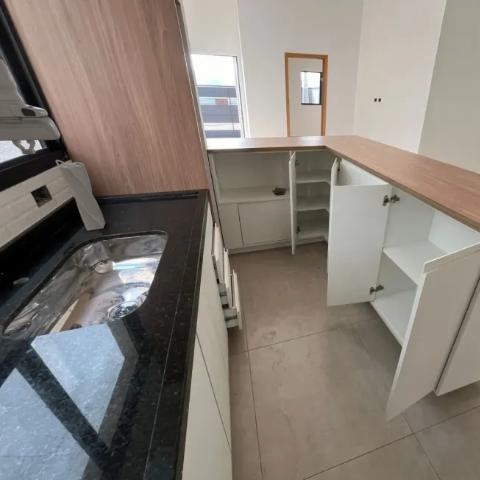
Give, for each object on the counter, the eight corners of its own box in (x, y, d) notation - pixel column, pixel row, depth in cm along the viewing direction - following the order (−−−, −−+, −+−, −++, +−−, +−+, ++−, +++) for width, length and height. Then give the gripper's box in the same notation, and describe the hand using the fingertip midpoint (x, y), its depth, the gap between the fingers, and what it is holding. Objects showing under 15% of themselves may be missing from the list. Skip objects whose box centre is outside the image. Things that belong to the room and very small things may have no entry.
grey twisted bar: (81, 232, 107) (51, 162, 93) (86, 225, 112) (57, 158, 99) (106, 229, 110) (79, 160, 97) (108, 222, 116) (84, 156, 103)
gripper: (-43, 110, 80) (-17, 157, 87) (44, 111, 88) (62, 154, 94) (-30, 109, 85) (-6, 153, 92) (52, 110, 93) (68, 151, 99)
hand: (29, 153), depth 93 cm, fingers closed
